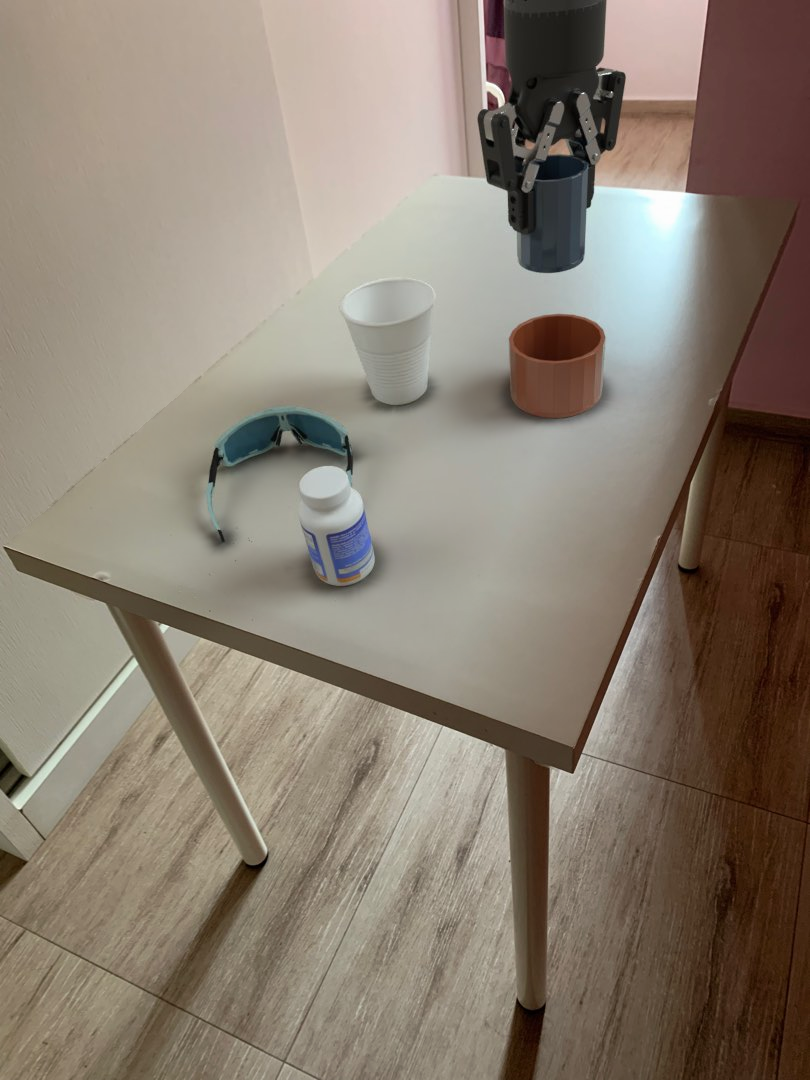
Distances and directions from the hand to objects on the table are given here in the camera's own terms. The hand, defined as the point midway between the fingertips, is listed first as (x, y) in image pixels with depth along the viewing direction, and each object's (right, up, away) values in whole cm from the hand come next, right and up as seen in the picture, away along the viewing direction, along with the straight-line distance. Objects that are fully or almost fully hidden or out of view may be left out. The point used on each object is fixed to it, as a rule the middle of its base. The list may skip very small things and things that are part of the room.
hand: (551, 218), depth 71 cm
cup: (-13, -12, +18) cm, 26 cm away
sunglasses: (-25, -23, +8) cm, 35 cm away
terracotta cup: (+3, -13, +15) cm, 20 cm away
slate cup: (0, -3, +3) cm, 4 cm away
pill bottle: (-18, -31, 0) cm, 36 cm away
